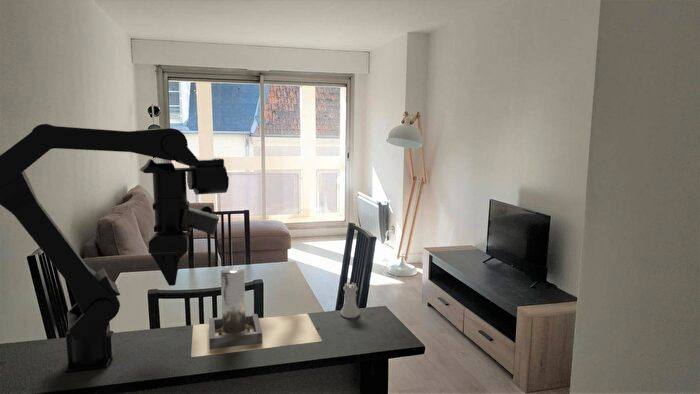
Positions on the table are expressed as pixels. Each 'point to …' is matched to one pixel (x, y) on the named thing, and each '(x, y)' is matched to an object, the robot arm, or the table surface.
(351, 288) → the rook chess piece
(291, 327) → the carrier board
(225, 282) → the grey rounded piece
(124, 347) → the table surface
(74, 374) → the table surface
